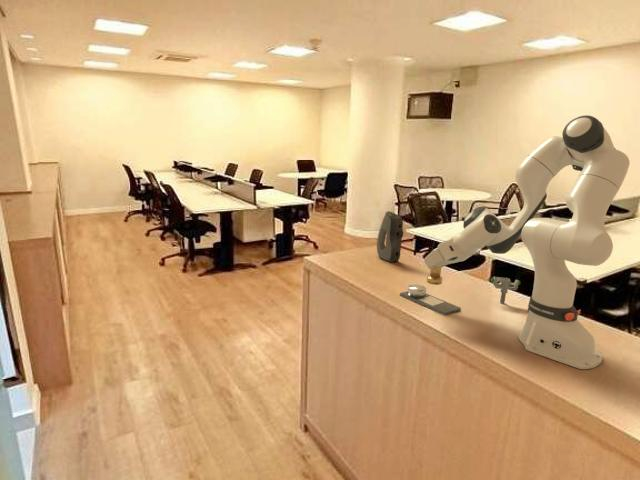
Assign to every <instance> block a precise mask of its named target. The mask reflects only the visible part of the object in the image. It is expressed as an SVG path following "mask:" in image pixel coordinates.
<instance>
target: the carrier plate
mask: <svg viewBox="0 0 640 480" xmlns="http://www.w3.org/2000/svg"><path fill="white" fill-rule="evenodd" d="M399 296H400V297H403V298H405V299H407V300H409V301H412V302H414V303H416V304H419V305H420V306H423V307H425V308H427V309H430V310H432V311H434V312H436V313H439V314H441V315H443V316H447V315H451V314H454V313H457V312H460V311H461V310H462V307H460V306H457V305H455V304H453V303H450V302H448V301H446V300H443V299H440V298H438V297H436V296H433V295H431V294H429V293H427V287H426V286H424V285H421V284H417V283H416V284H409V285H408V286H407V291H402V292H400V293H399Z"/></svg>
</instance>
